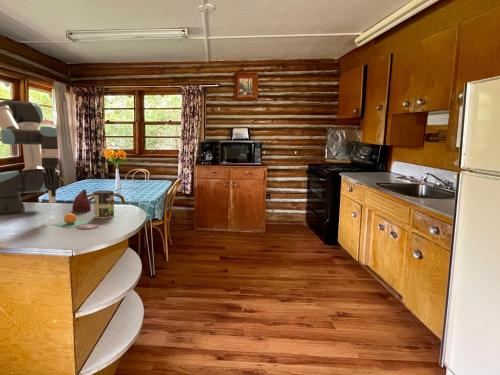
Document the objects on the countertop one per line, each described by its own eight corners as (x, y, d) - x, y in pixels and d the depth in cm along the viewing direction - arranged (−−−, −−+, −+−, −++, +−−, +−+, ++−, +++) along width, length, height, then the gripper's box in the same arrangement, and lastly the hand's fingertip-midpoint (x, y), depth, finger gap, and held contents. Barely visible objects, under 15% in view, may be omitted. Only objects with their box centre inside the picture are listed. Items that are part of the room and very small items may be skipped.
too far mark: (71, 227, 162) (71, 227, 162) (89, 223, 171) (89, 223, 171) (85, 230, 157) (85, 230, 157) (103, 226, 166) (103, 225, 166)
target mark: (52, 225, 166) (52, 224, 166) (74, 220, 177) (74, 219, 177) (68, 228, 161) (68, 227, 161) (90, 223, 172) (90, 222, 172)
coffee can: (118, 215, 191) (117, 190, 189) (107, 219, 181) (106, 193, 179) (102, 214, 193) (101, 189, 191) (90, 218, 183) (89, 192, 181)
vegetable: (93, 215, 204) (100, 191, 203) (80, 216, 195) (86, 191, 193) (81, 209, 208) (87, 186, 206) (67, 210, 198) (73, 186, 196)
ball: (63, 226, 168) (60, 216, 168) (73, 224, 172) (70, 214, 173) (70, 222, 165) (66, 212, 166) (80, 220, 170) (76, 210, 170)
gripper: (34, 156, 170) (37, 202, 174) (51, 158, 165) (53, 205, 168) (49, 156, 177) (51, 199, 181) (65, 157, 171) (67, 202, 175)
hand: (52, 202), depth 174 cm, fingers closed
